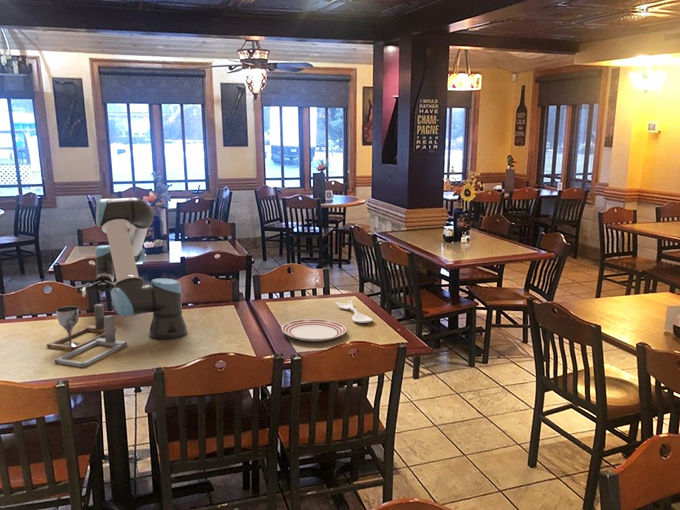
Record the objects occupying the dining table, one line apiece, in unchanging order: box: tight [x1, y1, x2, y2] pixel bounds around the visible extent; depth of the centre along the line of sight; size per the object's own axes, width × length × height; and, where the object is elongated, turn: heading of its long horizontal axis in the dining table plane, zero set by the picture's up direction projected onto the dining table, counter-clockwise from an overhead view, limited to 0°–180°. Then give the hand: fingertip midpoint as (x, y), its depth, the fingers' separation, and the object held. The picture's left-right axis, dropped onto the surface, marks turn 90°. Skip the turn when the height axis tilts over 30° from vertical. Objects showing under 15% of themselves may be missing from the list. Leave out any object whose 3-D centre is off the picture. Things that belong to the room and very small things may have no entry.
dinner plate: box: [281, 318, 347, 343], centre depth 247 cm, size 27×27×3 cm
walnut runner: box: [46, 303, 117, 352], centre depth 236 cm, size 13×24×12 cm, turn 163°
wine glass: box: [55, 305, 81, 346], centre depth 229 cm, size 8×8×15 cm
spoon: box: [334, 299, 374, 324], centre depth 275 cm, size 9×32×4 cm, turn 19°
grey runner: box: [53, 314, 128, 368], centre depth 221 cm, size 13×24×12 cm, turn 163°
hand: (100, 292), depth 253 cm, fingers open, 13 cm apart
